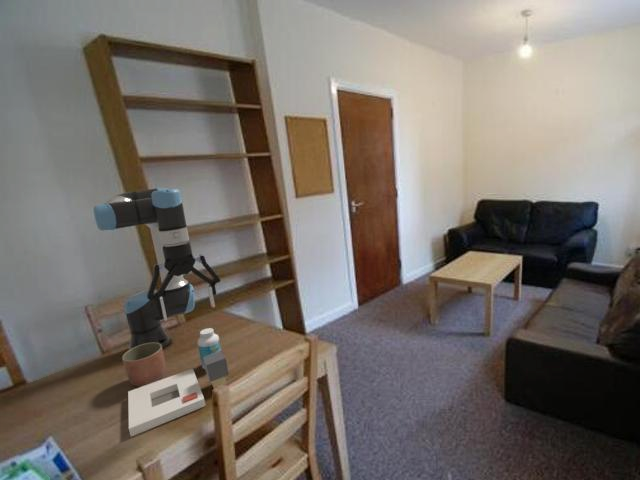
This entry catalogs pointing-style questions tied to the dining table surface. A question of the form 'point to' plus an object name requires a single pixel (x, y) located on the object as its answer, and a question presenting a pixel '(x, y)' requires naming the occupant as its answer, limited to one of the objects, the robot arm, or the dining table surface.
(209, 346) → the pill bottle
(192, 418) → the dining table surface
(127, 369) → the planter
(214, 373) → the plug
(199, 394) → the socket plate
